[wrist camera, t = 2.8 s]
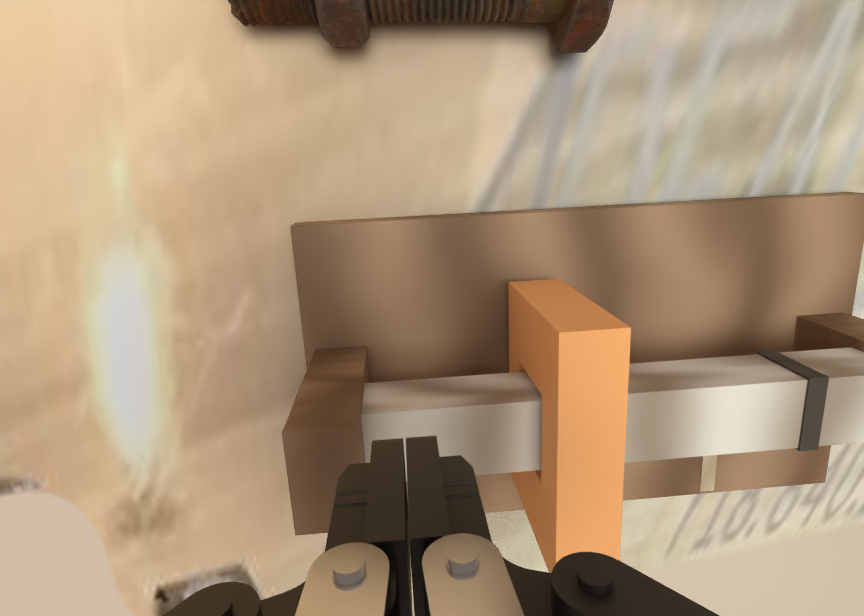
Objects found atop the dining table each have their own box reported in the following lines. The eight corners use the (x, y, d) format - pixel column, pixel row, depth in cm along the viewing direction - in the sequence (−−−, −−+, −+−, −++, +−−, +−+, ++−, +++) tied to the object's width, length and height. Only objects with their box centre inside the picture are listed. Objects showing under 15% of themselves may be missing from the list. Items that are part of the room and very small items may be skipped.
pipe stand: (328, 509, 30) (300, 670, 21) (295, 222, 26) (241, 257, 17) (805, 468, 32) (983, 598, 22) (846, 191, 28) (1086, 207, 18)
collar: (510, 473, 28) (555, 588, 20) (508, 282, 25) (558, 332, 18) (556, 469, 28) (618, 582, 20) (559, 278, 25) (631, 327, 18)
